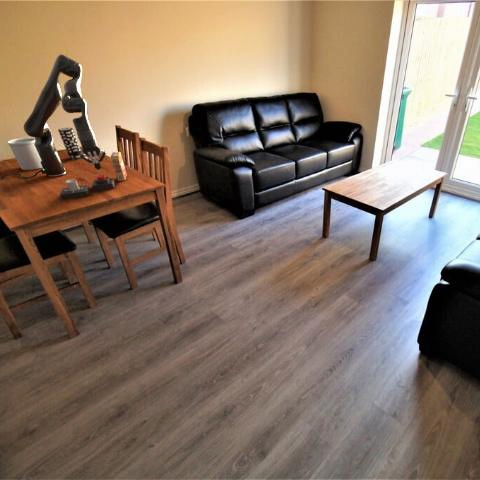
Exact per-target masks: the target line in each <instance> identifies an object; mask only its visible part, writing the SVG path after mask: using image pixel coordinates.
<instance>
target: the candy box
mask: <svg viewBox="0 0 480 480" xmlns="http://www.w3.org/2000/svg"><path fill="white" fill-rule="evenodd" d="M110 159H111V162H112V163H111V164H112V166H113V168H114V172H115V176H116V180H117V181H118V182H123V181H124V182H125V181H126V179H127V177H128V174H127V171H126V167H125V164H124V160H123V158H122V154H121V151H112V152H111V155H110Z"/></svg>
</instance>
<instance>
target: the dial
mask: <svg viewBox="0 0 480 480" xmlns="http://www.w3.org/2000/svg"><path fill="white" fill-rule="evenodd" d="M65 184H66V188H68V189H69V191H76V190H79V186H80V185H79V184H78V182H77V179H75V178H74V179H73V178H71V179H68V180H66V181H65Z"/></svg>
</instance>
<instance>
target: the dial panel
mask: <svg viewBox="0 0 480 480" xmlns="http://www.w3.org/2000/svg"><path fill="white" fill-rule="evenodd" d="M78 186H79V190H76V191H69V189H68V187H63V188H62V189H61V191H60V193H59V197H60V199H61V201H64V200H71V199H77V198H78V199H79V198H85V197H89V195H90V191H91V188H90V186H89V184H84V185H78Z"/></svg>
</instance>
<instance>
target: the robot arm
mask: <svg viewBox="0 0 480 480" xmlns="http://www.w3.org/2000/svg"><path fill="white" fill-rule="evenodd" d="M61 74H63V75H65V77H69V78H70V79H68V80H67V81H65V83H64V85H63V89H64V94H63V91H62V87H61V84H60V75H61ZM82 75H83V67H82V65H81V63H79V62H77V61H76V60H74V59H73V58H70V57H68V56H66V55H64V54H58V56H56V59H55V60H54V63H53V65H52V68H51V71H50V74H49V76H48V78H47V81H46V82H45V84H44V86H43V87H42V90H41V91H40V93H39V95H38V98H37V100H36V103H35V104H34V107H33V110H32V111H31V113H30V115H29V116H28V118H27V119H26V120H25V122H24V124H23V131H24V133H25V134H26V135H27V136H28V137H30V138H35V143H34V145H35V148H36V150H37V152H38V154H39V156H40V158H41V165H42V167H43V168H40V170H38V171H36V172H35V174H33V175H30V176H23V174H22V173H9V174H5V175H2V176H1V178H0V180H3V179H4V178H6V177H9V176H20V178H21V179H30V178H34V177H37V176H38V174H39V173H41V174H42V175H45V176H46V177H49V178H56V177H62V176H64V175H66V174H67V171H66V168H65V167H64V164H63V162H62V160H61V157H60V154H59V152H58V151H57V149H56V145H55V143H54V142H55V141H54V137H53V134H52V131H51V129H50V126H49V125H48V123H47V122H48V120H49V119H50V118H51V117H52V116H53V115H54V113H56V112H57V110H58V109H59V107H60V105H61V107H62V109H63V111H64V112H66V113H68V114H81V115H80V116H78V117H74V118H73V119H72V122H73V126H74V129H75V131H76V136H77V140H78V142H79V143H80V147H81V148H82V153H81V154H80V157H81V158H80V159H83V160H84V161H86V162H88V163H89V164H92V165H93V167H94V169H96V170H97V171H99V170H101V169H102V165H101V162H103V161H104V158H105V156H106V154H107V151H106V150H103V149H102V148H100V146H99V143H98V140H97V138H96V135H95V132H94V130H93V128H92V126H91V123H90V120H89V114H88V108H89V107H88V103H87V101H86V100H85V99H84V98H83V96H82V89H81V87H82V77H83V76H82ZM100 155H101V156H100ZM99 156H100V157H99Z"/></svg>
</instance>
